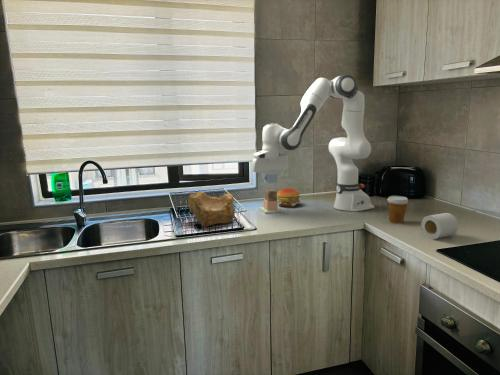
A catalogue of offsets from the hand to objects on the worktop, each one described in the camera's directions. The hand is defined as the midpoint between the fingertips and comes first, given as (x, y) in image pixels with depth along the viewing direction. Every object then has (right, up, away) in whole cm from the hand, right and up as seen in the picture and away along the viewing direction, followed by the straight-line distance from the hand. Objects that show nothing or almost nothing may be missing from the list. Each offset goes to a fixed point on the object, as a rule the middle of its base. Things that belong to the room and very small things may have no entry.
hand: (270, 179), depth 199 cm
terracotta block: (0, -16, +4) cm, 17 cm away
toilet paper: (+70, -26, -40) cm, 85 cm away
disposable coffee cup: (+61, -21, -19) cm, 67 cm away
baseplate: (0, -17, +4) cm, 18 cm away
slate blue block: (0, -2, 0) cm, 2 cm away
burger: (+11, -15, +15) cm, 24 cm away
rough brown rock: (-30, -23, -18) cm, 42 cm away
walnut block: (0, -11, +2) cm, 12 cm away
